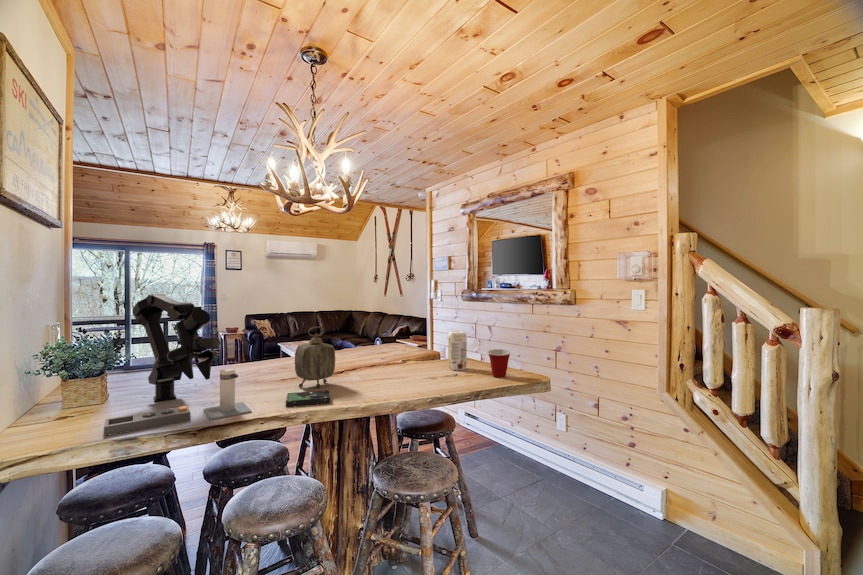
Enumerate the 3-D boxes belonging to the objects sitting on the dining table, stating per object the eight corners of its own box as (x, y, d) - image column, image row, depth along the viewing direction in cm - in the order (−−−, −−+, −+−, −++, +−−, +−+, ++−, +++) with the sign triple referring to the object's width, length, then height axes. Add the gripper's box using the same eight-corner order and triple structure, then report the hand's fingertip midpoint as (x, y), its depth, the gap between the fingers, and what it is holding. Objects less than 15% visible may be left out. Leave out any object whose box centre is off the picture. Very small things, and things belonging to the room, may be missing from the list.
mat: (203, 410, 123) (203, 408, 123) (242, 403, 131) (242, 401, 131) (209, 420, 114) (209, 418, 114) (251, 412, 122) (251, 410, 122)
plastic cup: (483, 377, 172) (483, 351, 172) (492, 373, 181) (492, 348, 181) (505, 380, 166) (506, 353, 166) (514, 375, 175) (514, 350, 175)
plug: (216, 410, 121) (216, 371, 122) (228, 406, 126) (229, 368, 126) (230, 413, 119) (231, 373, 119) (243, 409, 123) (243, 370, 123)
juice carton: (467, 370, 187) (468, 332, 187) (451, 371, 184) (451, 333, 184) (462, 367, 194) (462, 330, 194) (446, 368, 192) (447, 331, 192)
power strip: (105, 427, 108) (105, 416, 108) (187, 413, 121) (187, 403, 121) (103, 436, 102) (104, 424, 102) (190, 420, 114) (190, 409, 114)
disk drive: (328, 397, 142) (287, 400, 137) (328, 389, 142) (287, 392, 137) (330, 405, 132) (285, 408, 127) (330, 397, 132) (285, 400, 127)
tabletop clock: (326, 381, 162) (327, 324, 162) (337, 385, 156) (337, 326, 156) (294, 387, 152) (294, 326, 152) (303, 392, 146) (304, 328, 146)
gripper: (195, 323, 120) (207, 368, 117) (225, 331, 138) (237, 370, 135) (161, 336, 119) (172, 382, 116) (196, 342, 137) (207, 382, 134)
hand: (200, 379), depth 125 cm, fingers open, 9 cm apart
